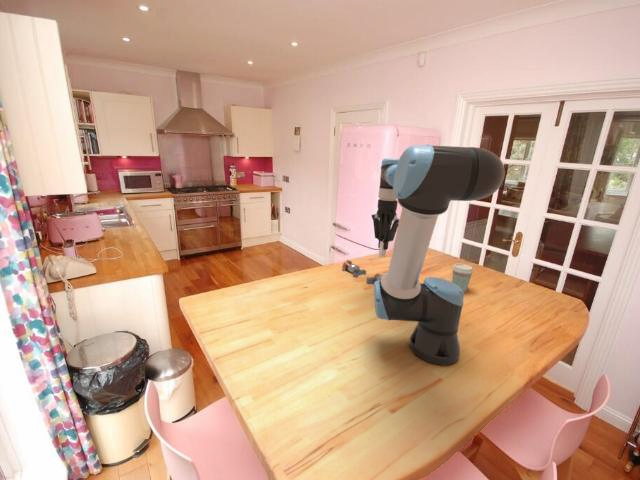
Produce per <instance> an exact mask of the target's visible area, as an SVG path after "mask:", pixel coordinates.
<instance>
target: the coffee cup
mask: <svg viewBox="0 0 640 480" xmlns="http://www.w3.org/2000/svg"><path fill="white" fill-rule="evenodd" d="M473 274H474V270H473V267H472V265H471V266H470V265H468V264H465V263H454V264H453V266H452V279H451V280H452V281H451V282H452V283H454V284H456V285H458V286H459V287H460V288H461V289H462V290H463V293H464V294H465V293H467V290H468V288H469V284H470V281H471V278H472V275H473Z"/></svg>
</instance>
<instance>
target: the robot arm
mask: <svg viewBox="0 0 640 480" xmlns="http://www.w3.org/2000/svg"><path fill="white" fill-rule="evenodd" d="M505 173H506V169H505V165H504V163H503V161H502V160H501V158H500V157H499V156H498V155H497V154H495V153H494V152H492V151H490V150H488V149H486V148H481V147H476V146H472V147H471V146H468V147H466V146H452V145H451V146H450V145H449V146H446V145H445V146H444V145H432V144H424V145H411V146H407V148H406V149H405V150H403V152H402V153H401V155H400V156H399V158H383V159H382V161H381V166H380V176H379V177H380V179H379V188H378V189H379V190H378V200H377V211H376V213H374V214H371V218H372V222H373V231H374V232H373V233H374V239H377V240H378V246H377V247H378V249H379V250H378V257H379V258H384V257H386V256H387V255H386V254H387V250H388V249H389V244H390V242H393V241H394V243H393V248H392V253H391V257H390V262H389V267H388V271H386V272H384V273H383V274H382V275H383V276H382V278H381V281H380V280H378V281H375V282H374V283H373V300H374V310H375V311H374V313H375V316H376V317H377V318H378V319H380V320H386V321H400V322H417V324H416V326H415V328H414V330H413V331H412V334H410V337H409V344H408V345H409V348H410V351H412V353H413V354H414V355H416V356H417V357H418V358H420V359H422V360H424V361H425V362H428V363H431V364H435V365H442V366H443V365H444V366H445V365H452V364H455V363H456V362H458V361H459V358H460V353H461V348H460V341H459V336H458V331H459V325H460V321H461V315H462V312H463V311H462V310H463V307H464V296H465V293H463V290H462V289H461V288H460V287H459V286H458V285H456V284H454V283H452V281H450V280H447V279H444V278H441V277H434V276H430V277H426V278H425V279H424V280H423V282H422V283H421V282H420V280H419V277H420V275H421V272H422V269H423V266H424V265H423V264H424V263H425V260H426V255H427V253H428V249H429V246H430V243H431V240H432V236H433V234H434V231H435V227H436V224H437V221H438V218H439V216H440V215H443V214H445V213H446V212H447V211H448V208H449V206H450V204H451V203H450V202H451V201H452V202H453V201H454V202H456V201H459V202H462V201H463V202H471V201H479V200H482V199H485V198H488V197H490V196H491V195H493V194H494V193H496V192H497V191H498V190H499V189H500V187H501V186H502V184H503V181H504V180H505V176H506V174H505ZM398 205H399V206H400V207H401V212H400V216H399V217H398V216H397V215H398V214H397V210H398V209H397V208H398Z"/></svg>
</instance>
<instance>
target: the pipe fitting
mask: <svg viewBox="0 0 640 480" xmlns="http://www.w3.org/2000/svg"><path fill="white" fill-rule="evenodd" d="M341 269H342V271H343V272H348V273H350V274H353V275H352V277H353V278H359V276H363V275H364V276H366V274H367V270H366V269H361V268H360V266H359V265H356V264H354V263H353V262H352V260H349V259H347V260H345V261H344V262H343V264H342V267H341ZM383 275H384V274H380V273H376V274H374V275H373V276H371V277H366V281H365V283H366V284H367V285H374V282H375V281H378V280H380V281H381V278H382V276H383Z"/></svg>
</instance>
